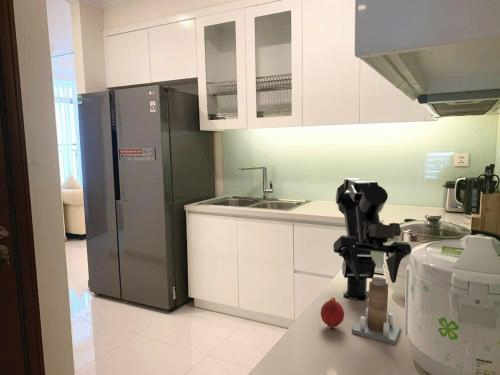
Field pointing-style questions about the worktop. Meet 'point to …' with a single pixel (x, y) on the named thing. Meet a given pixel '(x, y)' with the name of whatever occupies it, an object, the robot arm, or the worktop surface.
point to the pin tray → (387, 335)
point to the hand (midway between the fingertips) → (376, 280)
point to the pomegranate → (332, 313)
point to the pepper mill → (377, 304)
